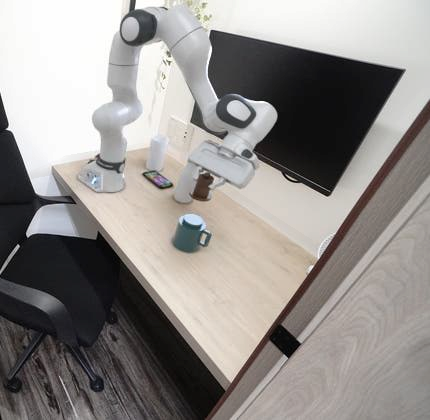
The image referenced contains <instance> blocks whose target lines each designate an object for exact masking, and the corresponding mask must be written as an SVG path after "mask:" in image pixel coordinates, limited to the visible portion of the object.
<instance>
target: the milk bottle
mask: <svg viewBox="0 0 430 420" xmlns="http://www.w3.org/2000/svg"><path fill="white" fill-rule="evenodd" d="M197 168H198V167H197V166H195V165H193V164H191V163H190V161H189V159H188V158H187V161H186V165H185V166H184V167H183V169H182V170H181V171H180V173H179V175H178V179H177V182H176V186H175V190H174V193H173V199H174V200H175V201H176V202H178V203H181V204H189V203H192V201H193V198H192V197H191V196H190V195H189V192H190V190H191V189H194V188H195V185H196V181H194V180H193V177H194V176H195V175H196V171H197Z"/></svg>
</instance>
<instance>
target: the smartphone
mask: <svg viewBox="0 0 430 420" xmlns="http://www.w3.org/2000/svg"><path fill="white" fill-rule="evenodd" d="M142 175H143V176H144V177H145V178H146V179H147V180H149V181H150V182H151V183H152V184H154V185H155V186H156V187H157V188H159V189H160V190H164V189H169V188H172V187H173V186H174V183H173V182H171V181H170V180H169V179H168V178H166V177H165V176H164V175H163V174H161V173H160V172H159V171H155V170H153V171H150V170H148V171H144V172H142Z"/></svg>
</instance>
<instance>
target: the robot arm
mask: <svg viewBox="0 0 430 420" xmlns="http://www.w3.org/2000/svg"><path fill="white" fill-rule="evenodd" d="M160 42H163V43H164V44H165V46H166V48H167V49H168V51H169V53H170V55H171V57H172V58H173V61H174V62H175V64H176V65H177V67H178V69H179V70H180V72H181V74H182V76H183V78H184V81H185V83H186V85H187V88H188V90H189V92H190V95H191V96H192V98H193V100H194V103H195V104H196V107H197V108H198V111H199V115H200V125H201V127H202V129H203V130H204V131H205V132H206V133H207V134H210V135H214V136H220V135H223V134H226V133H227V134H226V136H225V137H224V138H223V139H222V140H221V141H220V142H219V143H217V142H214V141H213V140H210V139H208V140H202V141H201V142H200V143H199V145H198V146H197V147H195V148H194V149H193V150H192V151H191V153H189V154H188V157H187V160H188V159H189V161H190V163H191V164H193V165H195V166H197V167H198V168H197V171H196V175H195V176H194V177H193V180H194V181H196V182H197V179H198V176H199V175H200V174H204V173H203V172H208V173H210V175H211V176H213V177H216V178H218V181H216V182H213V183H211V184H210V185H209V186H208V188H209V189H210V191H212V192H214V191H215V190H216V189H217V188H219V187H221V186H224V185H225V184H226V183H227V184H229V185H231V186H232V187H235V188H237V189H239V190H242V189H246V187H247V186H248V185H249V184H250V182H251V181H252V180H253V178H254V177H255V174H256V172H255V171H257V170H258V169H259V168H260V166H261V165H260V161H259V158H258V156H257V155H256V153H254V152H253V151H254V149H255V147H256V145H257V144H259V143H260V142H261V141H263V139H265V137H266V136H267V135H268V133H270V132H271V130H272V128H273V127H274V126H275V123H276V122H277V121H278V112H277V110H276V108H275V107H274V106H273V105H272V104H270V103H269V102H266V101H263V100H262V101H255V100H250V99H247V98H244V97H243V96H242V95H240V94H236V93H230V94H225V95H224V96H222V97H221V98H220V99H219V98H218V97H217V94H216V92H215V90H214V88H213V86H212V83H211V82H210V79H209V75H208V74H209V73H208V69H209V62H210V59H211V55H212V49H213V47H212V43H211V40H210V37H209V34H208V33H207V31H206V29H205V28H204V26H203V24H202V23H201V21H200V20H199V19H198V17H197V16H196V15H195V13H194V12H193V11H192V10H191V9H190V8H189V7H188V5H186V4H183V3H178V4H175V5H173V6H171V7H170V8H168V7H165V6H147V7H144V8H136V9H132V10H131V11H129V12H127V13H126V14H125V15H124V16H123V17H122V19H121V21H120V23H119V30H117V31H116V32H115V33H114V35H113V37H112V39H111V44H110V49H109V54H108V64H107V65H108V66H107V77H106V84H107V87H108V88H109V89H110V90H111V93H112V100H111V101H109V102H106V103H103V104H102V105H100V106H98V107H97V108H96V109H95V110H94V111H93V112H92V116H91V122H92V125H93V127H94V129H95V130H96V131H97V132H98V133H99V136H100V149H99V153H97V154H96V155H94V159H89V161H87V163H86V165H85V166H84V168H83V169H82V171H81V172H80V173H79V174H78V175H77V179H78V180H79V181H80V182H82V183H83V184H84V185H85V186H87V187H88V188H90V189H91V190H93V191H94V192H96V193H116V192H121V191H122V190H123V189H124V188H125V182H124V178H125V175H124V170H125V167H126V159H127V157H126V152H127V147H128V141H127V138H126V137H124V136H123V135H124V134H123V129H124V127H125V126H128V125H130V124H132V123H134V122H135V121H136V120H138V119H139V118H140V117H141V115H142V113H143V110H144V109H143V104H142V101H141V100H140V99H139V96H138V91H137V80H138V70H139V64H140V63H139V62H140V56H141V55H140V54H141V52H142V51H141V50H142V48H143V47H144V46H150V45H153V44H156V43H160Z"/></svg>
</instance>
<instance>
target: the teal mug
mask: <svg viewBox="0 0 430 420" xmlns="http://www.w3.org/2000/svg"><path fill="white" fill-rule="evenodd" d="M206 228H207V223H206V222H205V220H204V219H203V217H201V216H200V215H197V214H196V213H195V214H194V213H187V214H183V215H181V216H180V217H179V218H178V221H177V225H176V227H175V231H174V234H173V238H172V241H171V243H172V245H173V246H174V248H176V249H177V250H179V251H180V252H183V253H189V254H191V253H195V252H196V251H198V249H199V246H200V247H201V248H207V247H208V246H209V244H210V241H211V240H212V237H213V234H212V231H209V230H208V229H206ZM204 235H206V237H205V240H204V242H203V241H202V239H203V236H204Z"/></svg>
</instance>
